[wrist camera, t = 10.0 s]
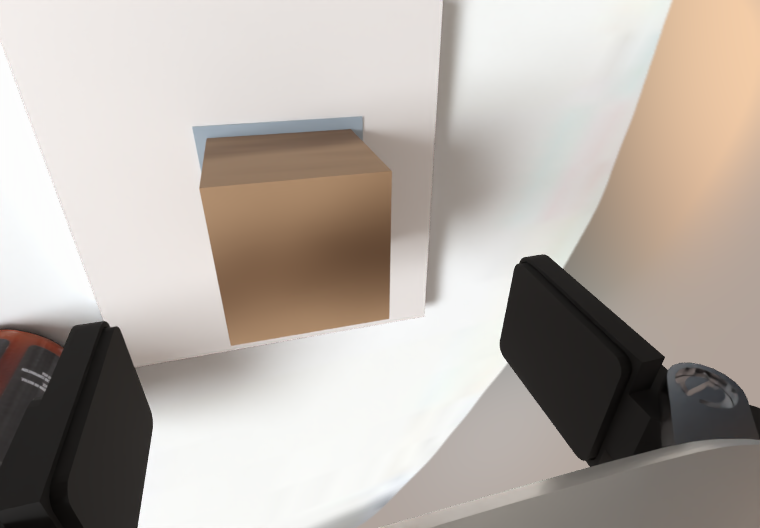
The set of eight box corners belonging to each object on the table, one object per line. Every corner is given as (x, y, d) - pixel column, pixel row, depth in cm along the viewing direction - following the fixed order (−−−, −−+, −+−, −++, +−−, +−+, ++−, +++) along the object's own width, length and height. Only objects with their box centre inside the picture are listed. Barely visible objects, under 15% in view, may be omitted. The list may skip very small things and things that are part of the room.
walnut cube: (206, 138, 19) (199, 188, 14) (350, 128, 20) (391, 170, 15) (229, 266, 22) (230, 346, 17) (354, 250, 23) (389, 318, 18)
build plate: (-2, -4, 16) (-18, -5, 15) (432, -3, 20) (444, -3, 19) (126, 354, 24) (121, 371, 23) (417, 305, 28) (424, 317, 27)
